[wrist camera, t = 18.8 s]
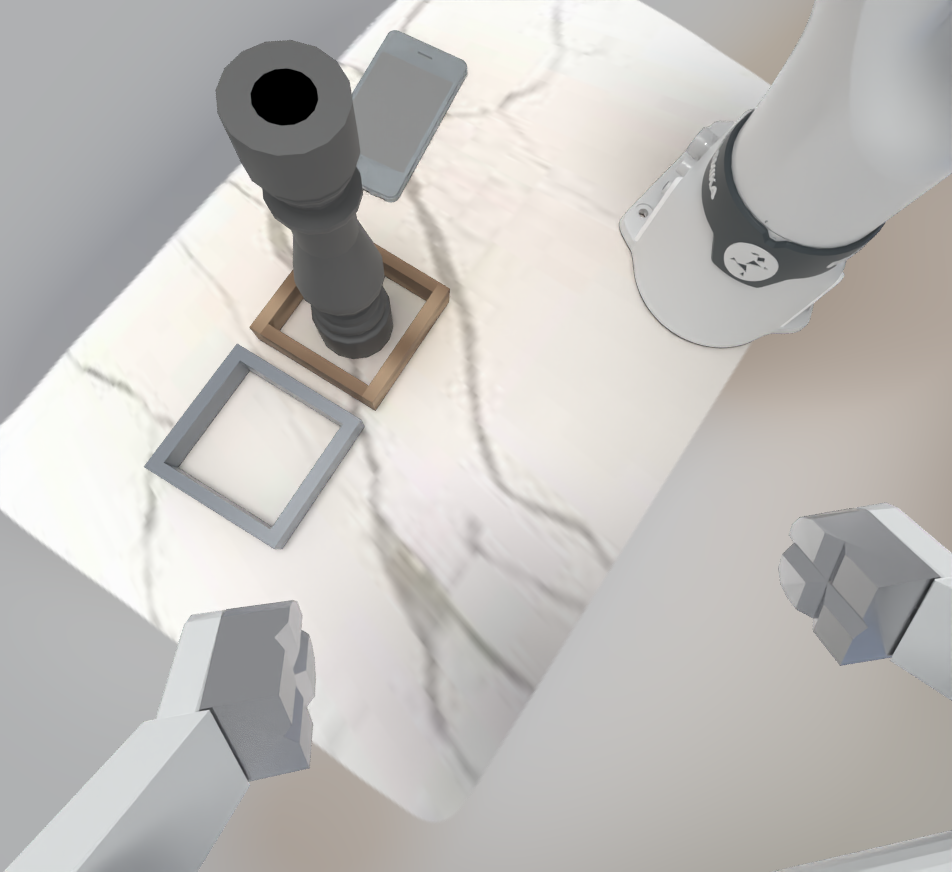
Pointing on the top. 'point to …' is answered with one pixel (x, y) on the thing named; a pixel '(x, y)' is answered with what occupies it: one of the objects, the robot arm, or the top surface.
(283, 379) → the charcoal frame
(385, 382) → the walnut frame
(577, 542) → the top surface
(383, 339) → the candle holder
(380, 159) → the phone
